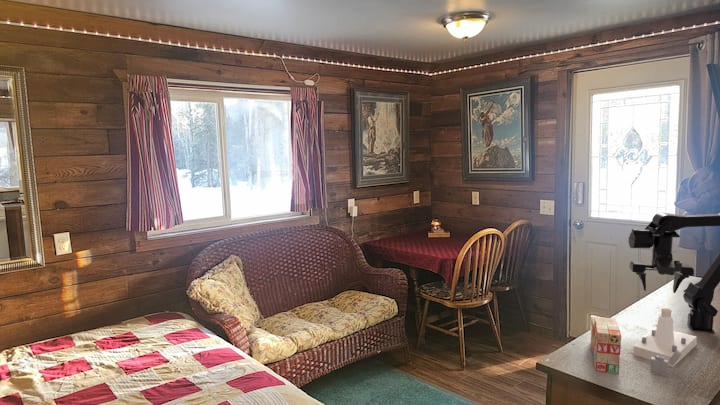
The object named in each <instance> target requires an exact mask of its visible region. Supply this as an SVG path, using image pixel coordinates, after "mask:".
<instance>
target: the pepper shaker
mask: <svg viewBox="0 0 720 405" xmlns="http://www.w3.org/2000/svg"><path fill="white" fill-rule="evenodd" d="M660 310H661V313H660V314H661V315H659V316H658V319H657V325H656V328H655V330H656V333H655V338H654V341H655V342H656V343H657V344H659V345H663V346H672V345H674V331H675V330H674V319H673V317H672V312H673V311H672V309H670V308H661V309H660Z"/></svg>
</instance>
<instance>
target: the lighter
mask: <svg viewBox="0 0 720 405" xmlns="http://www.w3.org/2000/svg"><path fill="white" fill-rule="evenodd" d="M681 355H682V353H681V352H679V351H678V350H676V352H675V353H674V354H673V355H672V357H671V358H670V359H669V361H668V360H664V357H663V356H659V355H657V356H655V357H652V358H651V360H650V374H654V375H658V376H662V377H668V376H669V374H668V373H669V372H668V371H669V366H668V363H670V364H671V365H674V364H675V362H676V361H677V360H678V359H679V357H680V356H681Z"/></svg>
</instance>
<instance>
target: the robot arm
mask: <svg viewBox="0 0 720 405" xmlns="http://www.w3.org/2000/svg"><path fill="white" fill-rule="evenodd" d="M694 227H695V228H697V227H698V228H699V227H720V213H711V214H710V213H709V214H707V213H706V214H685V215H683V214H676V213H667V212H666V213H665V212H658V213H655V215H654V216H653V217H652V220H651V221H650V222H649V224H648V225H647V226H645V228H644V229H636V228H632V229H631V232H630V233H629V236H628V244H629V245H628V246H629V248H630V249H639V250H640V249H644V250H647V249H648V250H649V249H650V248H652V250H651V252H652V257H651V264H645V263H644V262H643V261H638V260H637V261H635V260H631V261H630V262H629V269H630V271H631V272H633V273H635V275H638V278H639V280H640V283H641V286H642V289H643V291H644V292H646V291H647V289H646V288H647V283H646V282H647V280H646V279H647V278H646V277H647V273H646V271H656V272H657V273H658V274H659V275H660V276H661V275H662V276H663V275H666V276H667V275H670V276H673V286H672V292H673V294H676V292H677V291H678V289H679V287H680V285H681V283H682V282H683V281H684V280H685V279H689V278H690V277H694V276H695V269H694V268H693V267H692V266H691V265H690V264H687V263H683V262H682V260H674V258H673V240H674V238H680V237H681V235H680V234H679V233H678V232H677V231H679V230H682V229H685V228H694ZM719 284H720V253H719V254H718V256H717V257H716V258H715V259H714V262H712V264H711V266H710V267H709V268H708V270H707V271H706V273H704V275H703V277H702V278H701V279H700V281H697V283H696V282H695V283H693V282H690V283H689V284H688V286H687V288H686V289H684V290H683V292H684V293H683V296H682V297H683V301H684V302H685V303H686V304H687V305H688V307H689V308H690V309H689V313H688V314H687V325H688V327H689V329H691V330H692V331H694V332H695V331H696V332H702V333H703V332H704V333H715V330H714V329H713V328H714V318H715V317H716V316H717V314H718V312H719V310H717V308H716V307H714V306H713V305H712V302H713V300H714V296H715V290H716V289H717V287H718V285H719Z"/></svg>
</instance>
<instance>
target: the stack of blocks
mask: <svg viewBox="0 0 720 405" xmlns="http://www.w3.org/2000/svg"><path fill="white" fill-rule="evenodd" d="M590 327H591V330H590V331H591V332H590V335H591V336H590V344H591V353H592V356H593V362H594V363H593V364H594V371H595V372H600V373H608V374H613V375H614V374H615V375H619V373H620V357H621V356H620V355H621V351H622V350H621V349H622V348H621V347H622V346H621V345H622V333H621V330H620V326H619V324H618V322H617V320H616V319H613V318H611V317H603V316H602V317H599V316H594V315H593V316H591V321H590Z"/></svg>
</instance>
